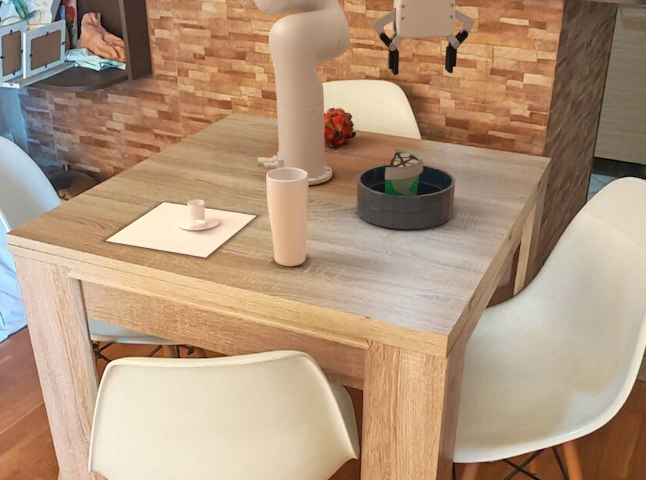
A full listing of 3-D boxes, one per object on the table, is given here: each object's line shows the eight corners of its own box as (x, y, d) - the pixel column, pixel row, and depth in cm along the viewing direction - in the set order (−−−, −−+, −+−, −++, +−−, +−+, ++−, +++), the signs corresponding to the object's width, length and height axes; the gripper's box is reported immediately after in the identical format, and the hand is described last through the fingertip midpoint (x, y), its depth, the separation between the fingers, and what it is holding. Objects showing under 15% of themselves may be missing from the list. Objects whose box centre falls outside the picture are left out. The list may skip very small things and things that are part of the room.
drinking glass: (269, 253, 141) (265, 167, 132) (309, 251, 141) (307, 166, 133) (270, 270, 135) (265, 181, 127) (311, 268, 135) (309, 180, 127)
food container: (416, 223, 151) (419, 170, 145) (383, 221, 152) (385, 168, 146) (424, 200, 161) (427, 149, 155) (393, 197, 162) (395, 147, 156)
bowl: (362, 232, 148) (362, 198, 145) (352, 196, 163) (352, 164, 160) (461, 229, 149) (464, 195, 146) (442, 193, 165) (444, 162, 161)
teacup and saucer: (205, 236, 147) (203, 214, 144) (166, 230, 149) (163, 209, 147) (227, 219, 153) (226, 198, 151) (190, 213, 156) (187, 192, 153)
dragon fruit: (337, 141, 199) (340, 164, 190) (308, 122, 195) (310, 144, 186) (358, 113, 195) (363, 135, 186) (329, 93, 191) (333, 115, 182)
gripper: (472, -41, 138) (464, 66, 147) (370, -39, 136) (369, 69, 145) (484, -36, 132) (475, 75, 141) (378, -34, 130) (376, 79, 139)
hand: (421, 72), depth 143 cm, fingers open, 9 cm apart
